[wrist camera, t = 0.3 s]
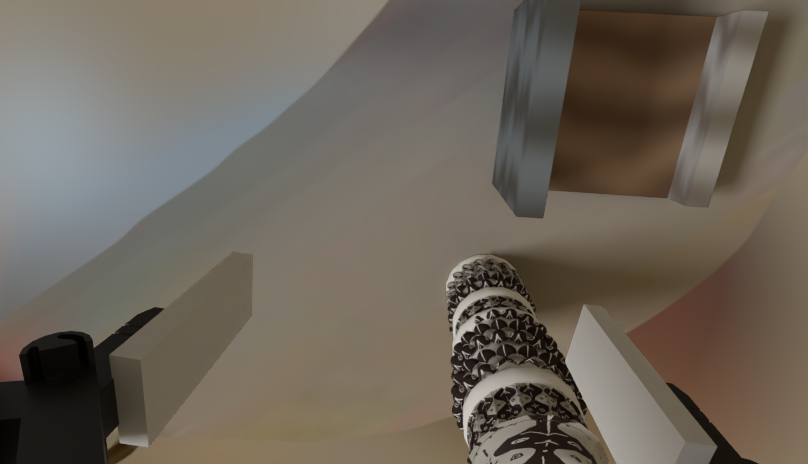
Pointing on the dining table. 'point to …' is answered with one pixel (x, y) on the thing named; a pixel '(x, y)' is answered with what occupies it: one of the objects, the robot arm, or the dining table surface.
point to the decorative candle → (511, 374)
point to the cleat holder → (619, 102)
